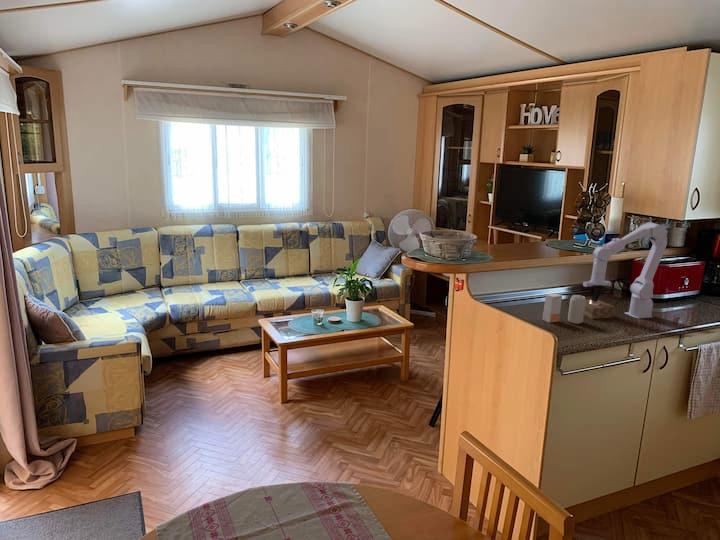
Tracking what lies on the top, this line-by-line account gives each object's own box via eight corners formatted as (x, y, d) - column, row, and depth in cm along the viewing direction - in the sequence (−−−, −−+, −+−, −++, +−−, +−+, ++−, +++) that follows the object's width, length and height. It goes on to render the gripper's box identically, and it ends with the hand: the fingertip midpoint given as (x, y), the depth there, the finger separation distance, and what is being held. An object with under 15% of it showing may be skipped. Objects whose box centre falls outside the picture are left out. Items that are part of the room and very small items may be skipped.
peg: (593, 306, 263) (594, 299, 262) (600, 309, 259) (601, 301, 258) (586, 307, 261) (587, 299, 260) (592, 310, 257) (594, 302, 256)
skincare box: (549, 323, 243) (552, 296, 241) (541, 320, 247) (545, 294, 244) (559, 321, 246) (562, 295, 243) (551, 318, 250) (555, 293, 247)
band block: (593, 308, 269) (595, 299, 268) (613, 317, 257) (615, 306, 256) (571, 310, 264) (573, 300, 263) (591, 318, 253) (593, 308, 251)
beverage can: (583, 325, 243) (587, 299, 240) (568, 323, 244) (572, 297, 241) (581, 320, 249) (584, 295, 246) (566, 319, 250) (569, 293, 247)
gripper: (604, 270, 262) (600, 297, 265) (580, 271, 257) (576, 299, 260) (616, 273, 256) (611, 301, 259) (591, 274, 251) (586, 303, 254)
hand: (594, 300), depth 259 cm, fingers closed, pressing on peg
